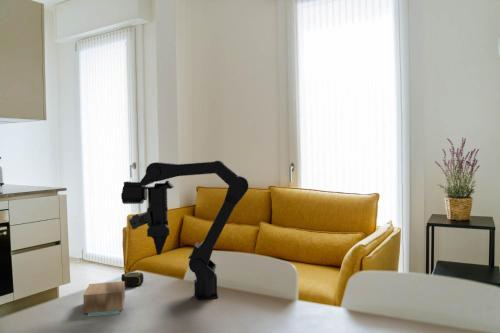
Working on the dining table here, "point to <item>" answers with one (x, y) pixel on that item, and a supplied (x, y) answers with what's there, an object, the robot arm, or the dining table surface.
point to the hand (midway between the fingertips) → (158, 254)
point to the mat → (103, 313)
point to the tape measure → (132, 279)
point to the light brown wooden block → (104, 297)
